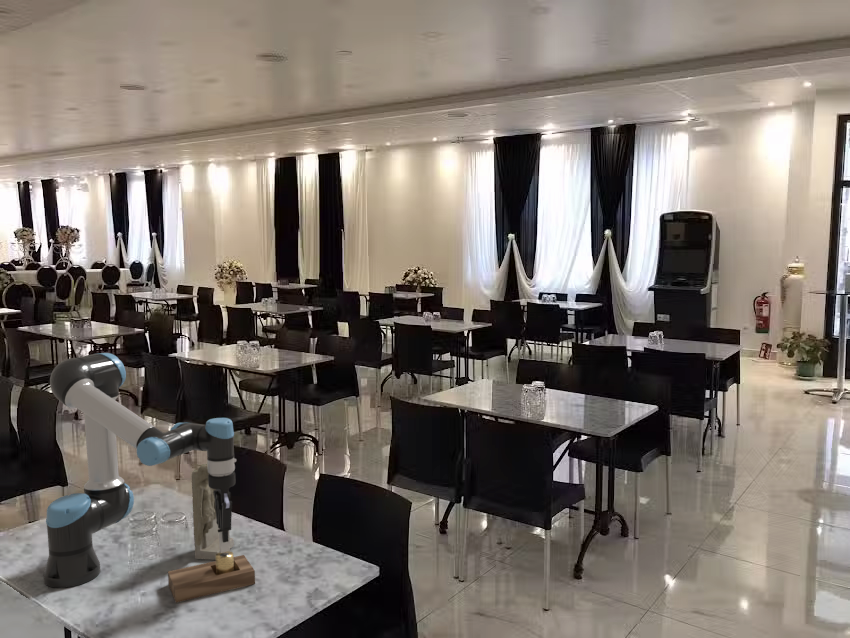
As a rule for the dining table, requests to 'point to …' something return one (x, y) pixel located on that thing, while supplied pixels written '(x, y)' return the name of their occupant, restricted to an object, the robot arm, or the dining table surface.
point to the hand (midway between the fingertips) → (224, 551)
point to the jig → (209, 579)
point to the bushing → (224, 562)
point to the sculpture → (204, 516)
